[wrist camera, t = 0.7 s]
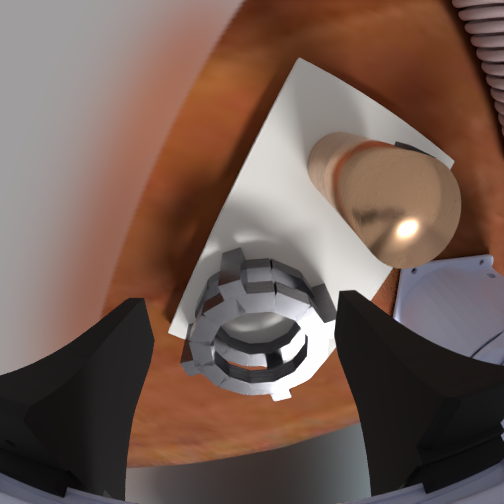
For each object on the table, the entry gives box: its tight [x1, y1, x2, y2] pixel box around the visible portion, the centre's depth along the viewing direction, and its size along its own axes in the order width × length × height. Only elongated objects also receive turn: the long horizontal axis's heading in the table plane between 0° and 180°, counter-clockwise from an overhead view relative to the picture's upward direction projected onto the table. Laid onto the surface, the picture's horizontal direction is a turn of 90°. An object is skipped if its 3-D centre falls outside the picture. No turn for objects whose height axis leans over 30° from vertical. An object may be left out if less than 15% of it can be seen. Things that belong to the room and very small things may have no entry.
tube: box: [307, 132, 461, 269], centre depth 14 cm, size 4×4×9 cm
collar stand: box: [180, 247, 337, 401], centre depth 20 cm, size 8×8×4 cm
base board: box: [168, 57, 454, 379], centre depth 20 cm, size 20×12×1 cm, turn 154°
